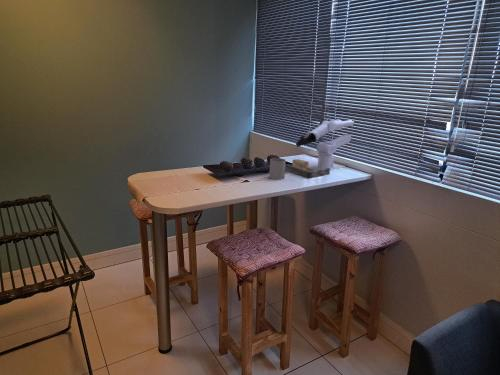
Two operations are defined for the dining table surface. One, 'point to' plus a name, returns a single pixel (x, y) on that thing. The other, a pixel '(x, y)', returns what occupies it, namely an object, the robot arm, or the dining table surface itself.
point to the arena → (307, 171)
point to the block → (300, 164)
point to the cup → (277, 168)
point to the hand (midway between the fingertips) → (300, 144)
